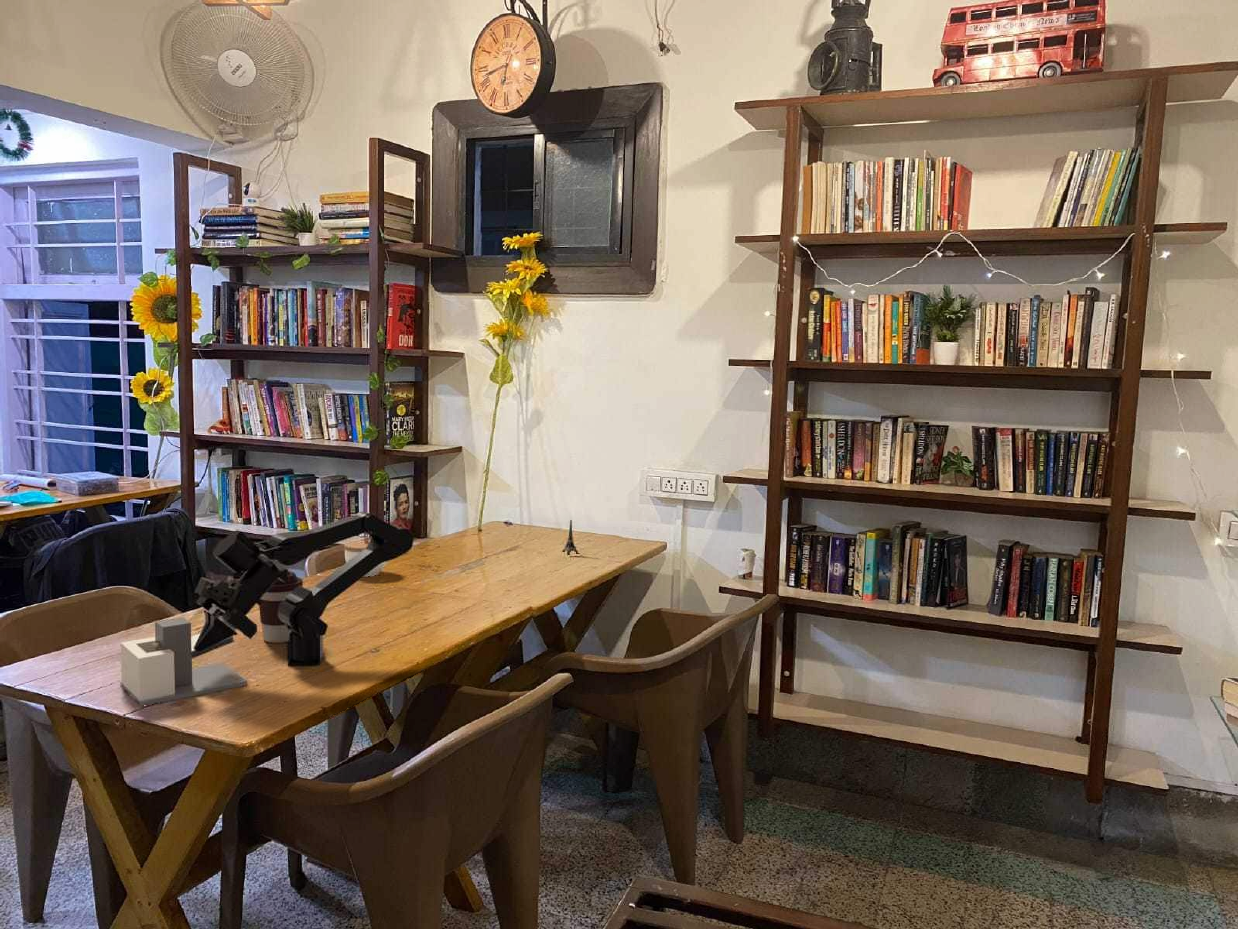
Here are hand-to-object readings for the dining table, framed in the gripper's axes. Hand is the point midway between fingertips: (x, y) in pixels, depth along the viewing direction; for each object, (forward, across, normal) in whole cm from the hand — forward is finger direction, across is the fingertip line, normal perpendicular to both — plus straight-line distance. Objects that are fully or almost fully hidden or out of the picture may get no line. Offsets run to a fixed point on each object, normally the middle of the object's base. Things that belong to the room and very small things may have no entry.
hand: (195, 650), depth 183 cm
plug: (+7, 0, +1) cm, 7 cm away
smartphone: (0, -23, +10) cm, 25 cm away
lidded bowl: (-44, -65, +54) cm, 95 cm away
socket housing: (+6, 0, +3) cm, 7 cm away
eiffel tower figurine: (-90, -51, +101) cm, 145 cm away
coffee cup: (-12, -18, +22) cm, 31 cm away
